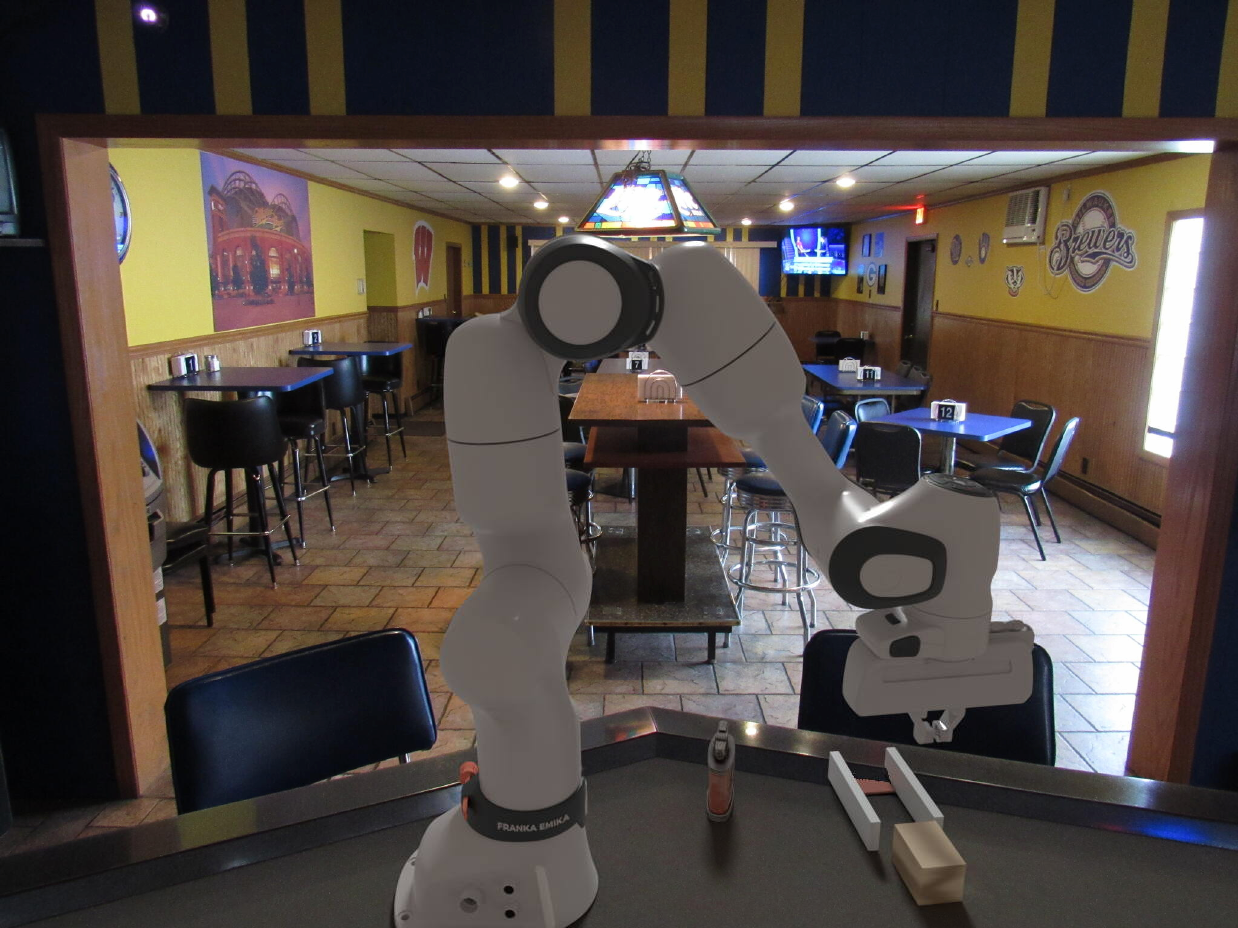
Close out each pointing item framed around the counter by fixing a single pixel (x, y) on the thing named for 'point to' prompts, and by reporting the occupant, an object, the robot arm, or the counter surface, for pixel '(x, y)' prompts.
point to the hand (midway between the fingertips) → (932, 739)
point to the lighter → (720, 774)
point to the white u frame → (860, 806)
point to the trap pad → (874, 786)
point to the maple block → (928, 863)
